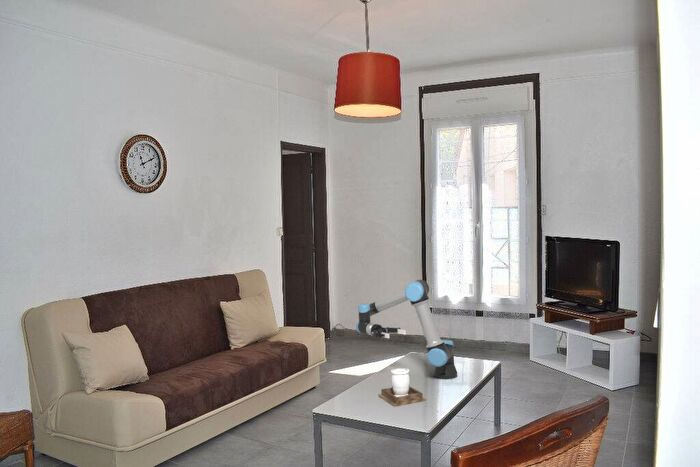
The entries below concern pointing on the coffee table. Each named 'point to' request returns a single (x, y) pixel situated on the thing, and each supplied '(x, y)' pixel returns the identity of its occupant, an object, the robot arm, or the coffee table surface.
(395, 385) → the jar
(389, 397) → the holder
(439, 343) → the robot arm
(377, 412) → the coffee table surface
